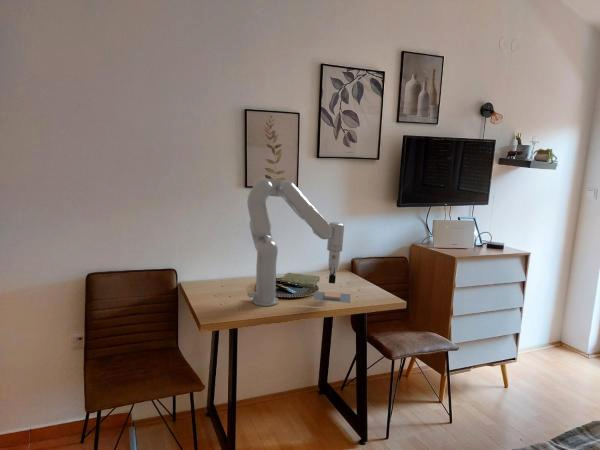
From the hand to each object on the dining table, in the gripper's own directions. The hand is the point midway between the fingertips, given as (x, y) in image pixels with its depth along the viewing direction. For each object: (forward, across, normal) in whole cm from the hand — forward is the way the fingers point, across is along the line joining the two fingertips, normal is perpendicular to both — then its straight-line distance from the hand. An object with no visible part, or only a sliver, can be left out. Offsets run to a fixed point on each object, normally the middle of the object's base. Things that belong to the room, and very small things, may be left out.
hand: (331, 282), depth 217 cm
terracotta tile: (+7, +5, -1) cm, 9 cm away
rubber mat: (+9, +2, -1) cm, 9 cm away
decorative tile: (+10, +24, +19) cm, 32 cm away
